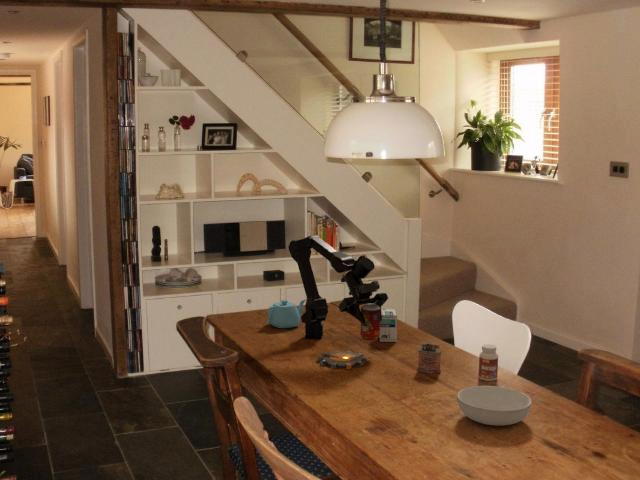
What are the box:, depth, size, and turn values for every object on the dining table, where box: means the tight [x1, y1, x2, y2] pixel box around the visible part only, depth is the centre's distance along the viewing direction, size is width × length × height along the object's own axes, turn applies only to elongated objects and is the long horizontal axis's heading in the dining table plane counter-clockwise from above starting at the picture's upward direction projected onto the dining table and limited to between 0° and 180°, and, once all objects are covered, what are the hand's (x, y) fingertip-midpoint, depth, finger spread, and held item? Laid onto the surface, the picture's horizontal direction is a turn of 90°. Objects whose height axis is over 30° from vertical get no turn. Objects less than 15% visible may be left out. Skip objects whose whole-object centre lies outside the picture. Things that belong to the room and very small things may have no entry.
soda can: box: [360, 303, 382, 342], centre depth 293 cm, size 7×7×12 cm
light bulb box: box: [378, 308, 398, 343], centre depth 318 cm, size 11×7×11 cm, turn 179°
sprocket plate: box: [317, 350, 367, 370], centre depth 289 cm, size 17×17×2 cm
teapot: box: [266, 298, 307, 329], centre depth 337 cm, size 13×11×18 cm
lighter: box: [417, 341, 442, 375], centre depth 278 cm, size 8×3×10 cm, turn 62°
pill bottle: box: [477, 344, 499, 382], centre depth 271 cm, size 6×6×11 cm
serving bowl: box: [456, 385, 533, 427], centre depth 235 cm, size 21×21×7 cm
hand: (372, 322), depth 292 cm, fingers closed on soda can, 7 cm apart
